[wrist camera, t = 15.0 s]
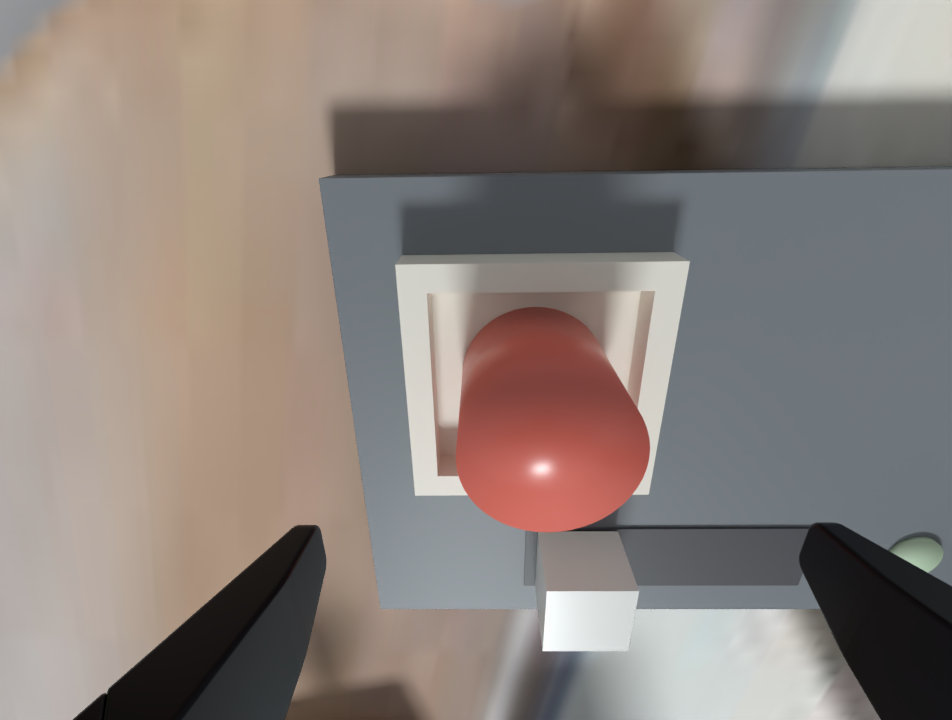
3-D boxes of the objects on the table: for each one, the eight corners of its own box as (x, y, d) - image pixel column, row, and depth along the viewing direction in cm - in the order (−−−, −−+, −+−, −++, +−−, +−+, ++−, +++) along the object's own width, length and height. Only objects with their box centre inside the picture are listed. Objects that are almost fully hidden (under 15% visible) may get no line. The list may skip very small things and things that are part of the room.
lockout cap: (610, 305, 14) (664, 371, 10) (596, 432, 16) (636, 532, 12) (460, 307, 14) (452, 374, 10) (464, 433, 16) (458, 532, 12)
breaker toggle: (618, 531, 18) (638, 591, 15) (609, 587, 19) (628, 651, 16) (538, 531, 18) (546, 591, 15) (534, 587, 19) (542, 650, 17)
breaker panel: (1150, 163, 14) (1295, 167, 11) (926, 578, 21) (985, 636, 18) (334, 175, 14) (303, 181, 12) (387, 579, 21) (374, 636, 19)
